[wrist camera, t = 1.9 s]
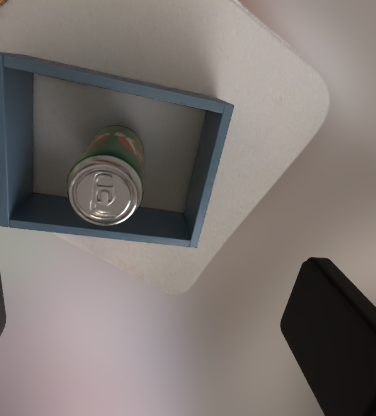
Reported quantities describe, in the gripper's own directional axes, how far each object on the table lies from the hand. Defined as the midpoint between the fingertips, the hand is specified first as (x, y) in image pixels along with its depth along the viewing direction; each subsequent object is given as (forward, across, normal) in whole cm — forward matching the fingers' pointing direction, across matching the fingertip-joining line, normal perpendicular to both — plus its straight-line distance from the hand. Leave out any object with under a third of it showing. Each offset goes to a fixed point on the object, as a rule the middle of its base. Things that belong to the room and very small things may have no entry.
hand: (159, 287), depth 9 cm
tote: (+23, +3, +2) cm, 23 cm away
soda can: (+23, +3, +2) cm, 23 cm away
